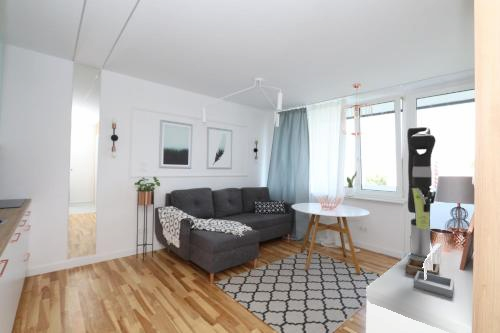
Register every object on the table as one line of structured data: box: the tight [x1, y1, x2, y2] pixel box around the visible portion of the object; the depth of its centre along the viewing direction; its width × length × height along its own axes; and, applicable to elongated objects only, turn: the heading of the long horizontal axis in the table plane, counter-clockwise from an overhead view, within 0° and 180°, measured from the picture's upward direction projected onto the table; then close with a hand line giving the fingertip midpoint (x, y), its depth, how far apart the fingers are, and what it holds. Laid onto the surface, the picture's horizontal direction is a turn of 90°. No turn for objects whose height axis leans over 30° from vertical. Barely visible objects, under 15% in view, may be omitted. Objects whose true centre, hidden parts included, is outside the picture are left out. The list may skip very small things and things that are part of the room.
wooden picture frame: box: [405, 257, 440, 277], centre depth 115 cm, size 12×12×4 cm
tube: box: [413, 187, 432, 229], centre depth 115 cm, size 6×5×20 cm
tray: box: [413, 271, 455, 299], centre depth 102 cm, size 13×13×3 cm
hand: (422, 210), depth 115 cm, fingers closed on tube, 4 cm apart
